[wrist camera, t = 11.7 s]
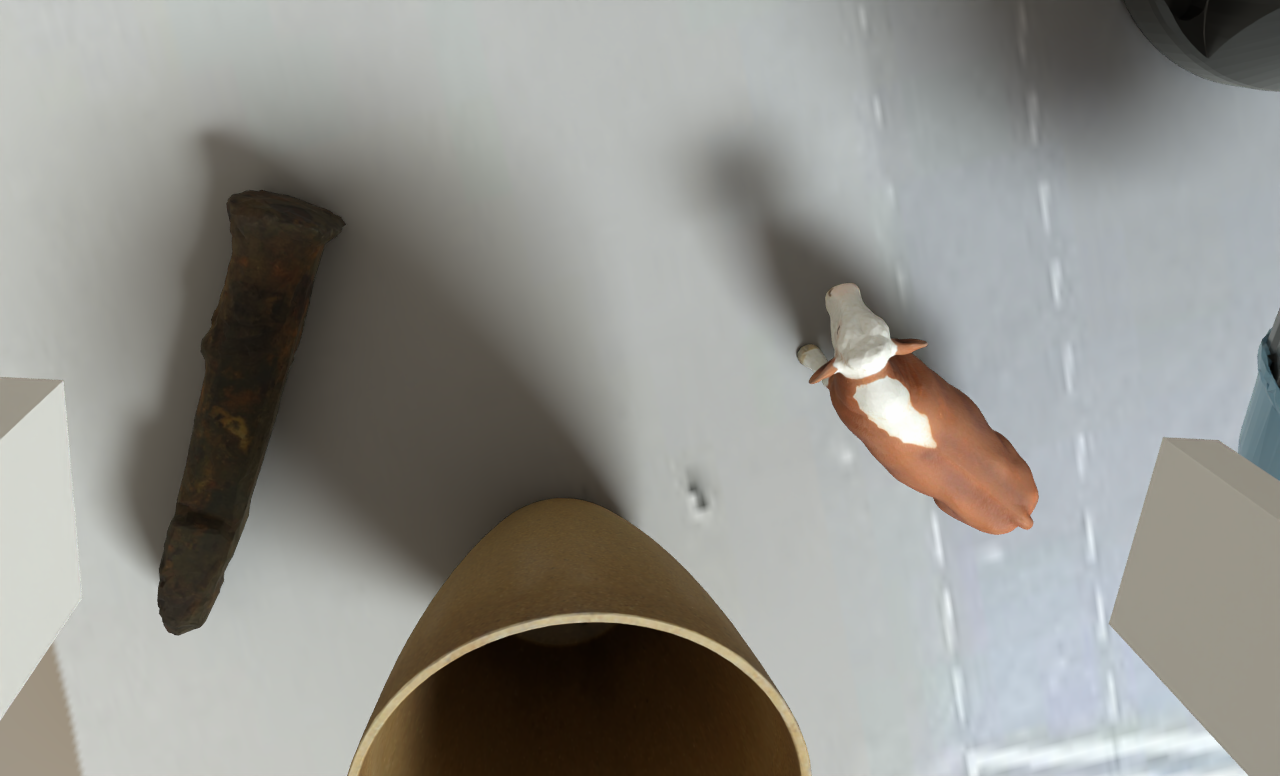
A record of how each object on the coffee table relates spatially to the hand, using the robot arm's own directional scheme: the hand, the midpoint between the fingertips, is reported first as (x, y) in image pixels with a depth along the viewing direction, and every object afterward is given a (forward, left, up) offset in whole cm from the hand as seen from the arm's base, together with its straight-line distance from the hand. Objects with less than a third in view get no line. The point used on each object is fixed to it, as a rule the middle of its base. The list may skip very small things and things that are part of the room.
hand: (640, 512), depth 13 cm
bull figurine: (-15, +9, -32) cm, 36 cm away
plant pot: (-2, +19, -32) cm, 37 cm away
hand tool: (+11, +12, -32) cm, 36 cm away
